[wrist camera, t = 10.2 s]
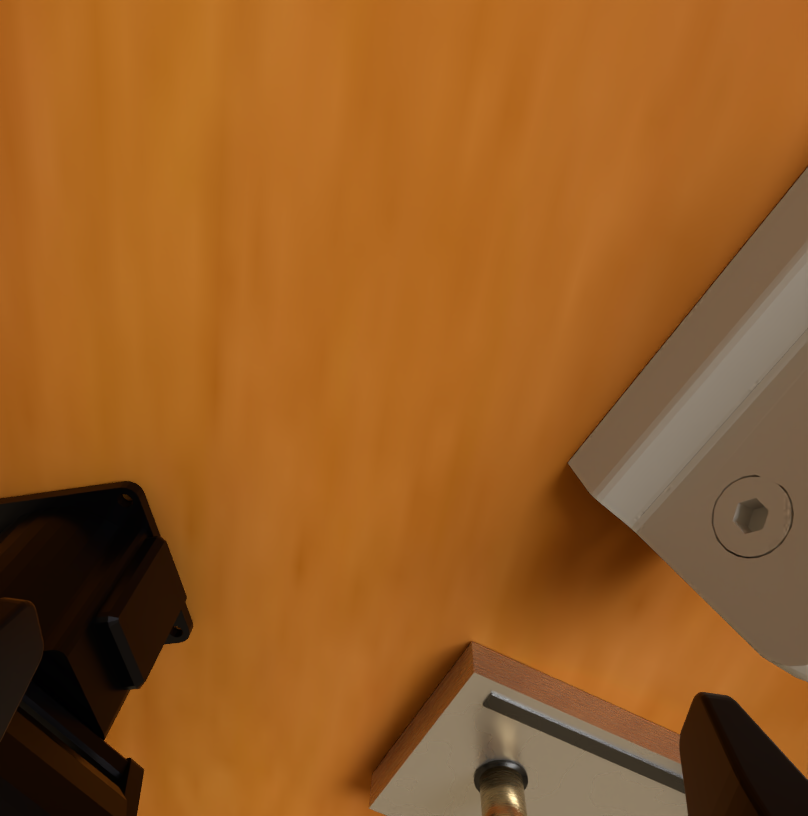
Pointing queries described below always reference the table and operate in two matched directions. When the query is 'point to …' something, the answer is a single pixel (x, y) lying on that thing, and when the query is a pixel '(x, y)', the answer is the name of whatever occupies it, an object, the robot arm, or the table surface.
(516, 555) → the table surface
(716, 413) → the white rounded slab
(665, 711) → the table surface
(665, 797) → the bolt plate
